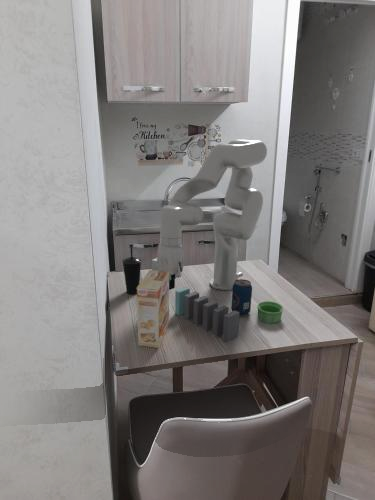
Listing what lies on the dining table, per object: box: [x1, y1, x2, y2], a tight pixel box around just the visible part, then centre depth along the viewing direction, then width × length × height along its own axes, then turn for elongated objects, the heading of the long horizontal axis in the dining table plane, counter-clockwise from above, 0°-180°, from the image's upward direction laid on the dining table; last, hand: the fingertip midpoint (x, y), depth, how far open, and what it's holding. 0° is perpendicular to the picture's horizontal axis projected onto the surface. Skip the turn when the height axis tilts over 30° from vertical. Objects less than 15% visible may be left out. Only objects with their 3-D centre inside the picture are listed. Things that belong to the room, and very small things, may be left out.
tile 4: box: [202, 299, 219, 332], centre depth 123 cm, size 5×2×9 cm, turn 132°
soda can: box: [230, 278, 253, 317], centre depth 133 cm, size 7×7×12 cm
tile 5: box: [211, 304, 229, 338], centre depth 120 cm, size 5×2×9 cm, turn 132°
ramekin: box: [256, 300, 284, 324], centre depth 131 cm, size 9×9×4 cm
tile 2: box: [183, 291, 200, 321], centre depth 130 cm, size 5×2×9 cm, turn 132°
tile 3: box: [192, 295, 209, 326], centre depth 127 cm, size 5×2×9 cm, turn 132°
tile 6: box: [222, 310, 240, 344], centre depth 117 cm, size 5×2×9 cm, turn 132°
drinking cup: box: [121, 244, 143, 295], centre depth 147 cm, size 8×8×20 cm
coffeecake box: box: [136, 269, 170, 349], centre depth 117 cm, size 15×7×20 cm, turn 171°
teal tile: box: [174, 286, 191, 316], centre depth 133 cm, size 5×2×9 cm, turn 132°
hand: (169, 288), depth 137 cm, fingers closed
